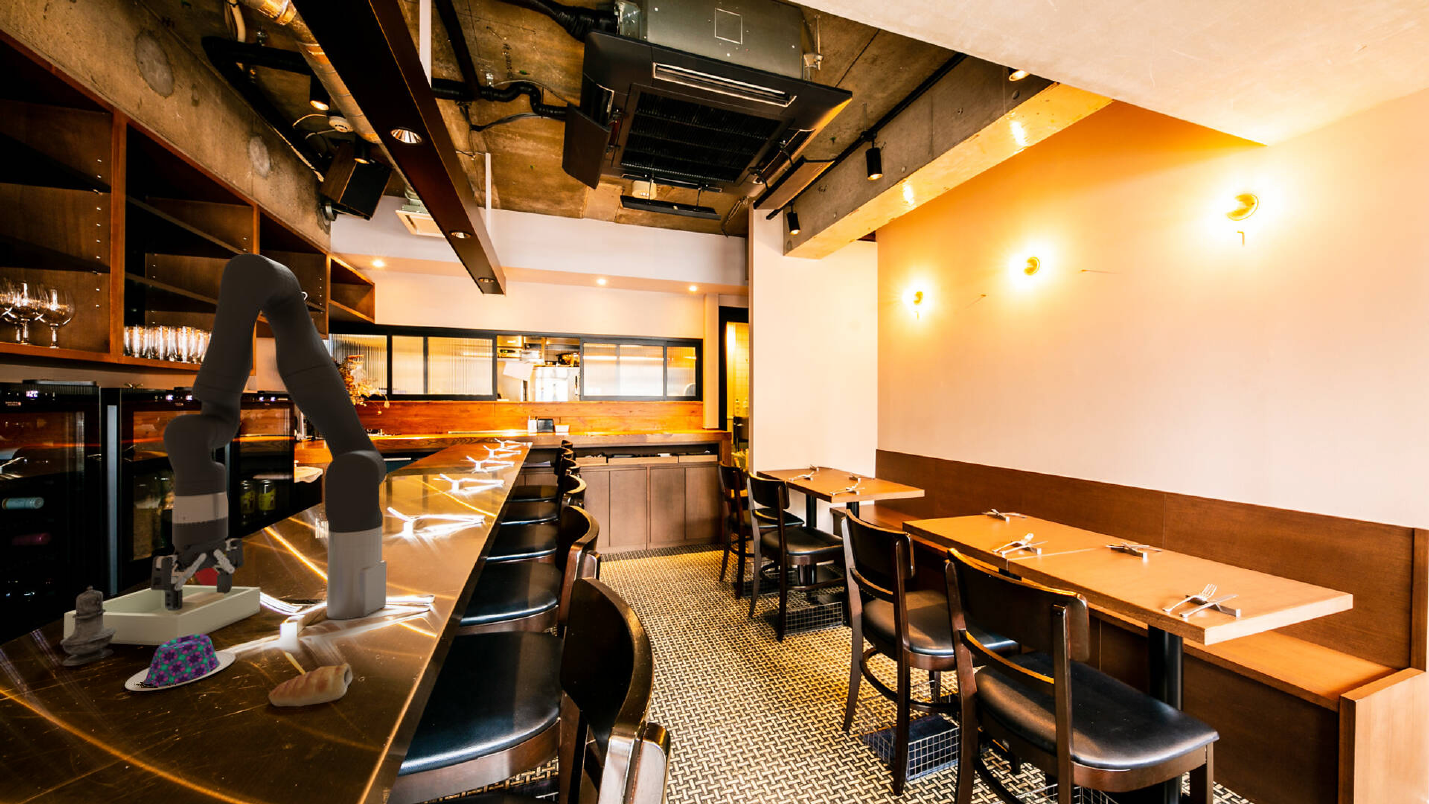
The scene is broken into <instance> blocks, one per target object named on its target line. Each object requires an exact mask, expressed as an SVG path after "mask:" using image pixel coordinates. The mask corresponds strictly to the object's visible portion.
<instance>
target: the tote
mask: <svg viewBox="0 0 1429 804" xmlns="http://www.w3.org/2000/svg"><path fill="white" fill-rule="evenodd" d="M181 589H183V598H184V597H187V596H190V595H193V594H196V593H199V592H211V593H217V586H203V585H193V584H191V585H187V584H184V585H183V586H182V588H181ZM103 609H105V610H106V612H104V613H103V624H104V627H105V628H107V629H115V630H116V632H115V633H114V634H113V638H112V640H111V641H110V643H109V644H122V645H123V644H124V645H127V644H128V645H146V646H147V645H148V646H160V645H162V644H163V643H165V642H168V641H171V640H173V639H176V638H179V637H185V636H189V635H201V634H205V635H207V634H209V633H211V632H214V631H217V630H219V629H221V628H223V627H226V626H228V625H229V626H230V625H231V624H234V623H236V622H239V621H241V620H243V619H246V618H248V617H251V616H253V615H256V614H258V613H260V612H261V587H253V586H232V588H231V589H230V592H229V593H226V594H224V599H222V600H219V601H216V602H213V603H211V604H208V605H205V606H202V607H199V608H197V609H194V610H191V611H188V612H185V613H183V614H180V615H171V611H169V610H168V609H166V607H165V592H164V591H163V590H151V587H149V588H146V589H141V590H138V591H136V592H132V593H128V594H125V595H122V596H119V597H115V598H111V599H108V600H105V601H104V600H103ZM75 614H76V609H75V610H71V611H68V612H65V613H64V618H63V619H64V621H63V626H64V627H63V640H64V639H65V638H68V637H70V636H71V635H72V634H73V632H74V629H75V618H72V616H73V615H75Z"/></svg>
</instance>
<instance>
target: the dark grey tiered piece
mask: <svg viewBox="0 0 1429 804" xmlns="http://www.w3.org/2000/svg"><path fill="white" fill-rule="evenodd" d="M86 589H87V590H86V591H84V592H82V593H80V594H79V595H78V596H77V597H76V599H75V610H76V614H75V615H73V616H72V618H75V629H74V632H73V634H72V635H71V636H70V637H68V638H65V639H64V638H63V639H62V640H61V641H60V642H59V644H60V645H61V646H62V649H63V650H64V652H65V653H66V654H69V655H71V656H69V657H68V658H66V659H65V660H63V661H62V665H63V666H68V667H69V666H72V667H73V666H79V665H83V664H89V663H92V662H95V661H98V660H102V659H105V658H106V657H108V656H110V655H112V654H113V653H114V651H113V650H112V649H108V648H105V647H106V646H108V645H109V644H111V643H110V641H111V640H112V638H113V634H114V633H115V632H116V630H115V629H107V628H105V627H104V624H103V613H104V612H106V610H105V609H103V602H104V594H103V592H102V591H99V590H95V589H93V586H92V585H89V586H88V587H87V588H86Z"/></svg>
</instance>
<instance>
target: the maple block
mask: <svg viewBox="0 0 1429 804" xmlns="http://www.w3.org/2000/svg"><path fill="white" fill-rule="evenodd" d="M222 599H224V593H211V592H199V593H196V594H193V595H190V596H187V597H184V598H183V605H182V609H180V610H177V611H171V615H180V614H183V613H185V612H188V611H191V610H194V609H197V608H199V607H202V606H205V605H208V604H211V603H213V602H216V601H219V600H222Z"/></svg>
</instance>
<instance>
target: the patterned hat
mask: <svg viewBox="0 0 1429 804" xmlns="http://www.w3.org/2000/svg"><path fill="white" fill-rule="evenodd" d="M158 646H159V647H158V648H157V649H156V650H155V652H154V655H153V658H152V660H151V663H150V666H149V667H148V668H146V669H143V670H141V671H139V672H138V673H136V674H134V675H132V676H130V678H128V679H127V680H126V682H125V684H124V687H125V688H126V689H127V690H130V691H142V692H143V691H154V690H155V691H156V690H163V689H167V688H168V689H169V688H172V687H177V686H182V685H184V684H189V683H192V682H195V681H198V680H200V679H204V678H206V677H208V676H211V675H213V674H215V673H217V672H219V671H221V670H223V669H225V668H227V667H228V666H229V665H231V664H232V663H233V662H234V661H235V659H236V655H235V654H234V653H233V652H229V651H223V650H222V651H220V650H219V651H218V650H217V651H216V650H215V648H214V645H213V643H212V640H211V638H210V636H209V635H207V634H201V635H189V636H185V637H179V638H176V639H173V640H171V641H168V642H165V643H163V644H162V645H158ZM211 670H212V671H211ZM140 682H143V685H145V684H151V685H153V686H152V687H154V686H157V687H158V688H141V686H140V685H139V686H138V685H136V684H141V683H140ZM134 684H135V685H134ZM166 684H168V685H166ZM175 684H176V685H175ZM169 685H170V686H169ZM142 687H143V686H142Z"/></svg>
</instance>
